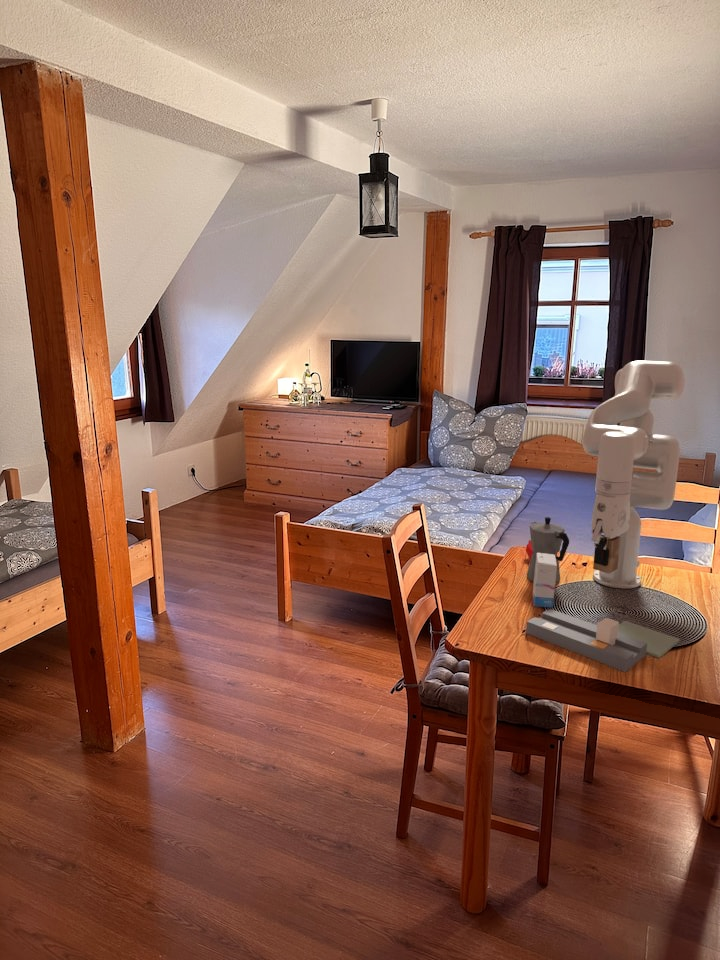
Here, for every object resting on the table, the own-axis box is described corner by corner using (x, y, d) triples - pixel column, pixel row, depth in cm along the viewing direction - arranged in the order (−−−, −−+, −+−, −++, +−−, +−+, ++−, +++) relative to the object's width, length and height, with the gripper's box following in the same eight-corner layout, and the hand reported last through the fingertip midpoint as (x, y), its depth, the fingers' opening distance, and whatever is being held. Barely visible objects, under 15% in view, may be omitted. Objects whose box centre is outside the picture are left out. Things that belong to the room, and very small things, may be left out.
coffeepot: (515, 572, 194) (519, 512, 189) (541, 567, 198) (546, 509, 193) (550, 592, 180) (555, 528, 176) (577, 587, 184) (583, 524, 179)
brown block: (601, 564, 161) (605, 516, 158) (617, 569, 158) (622, 520, 155) (593, 568, 158) (597, 520, 155) (609, 573, 155) (614, 524, 152)
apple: (558, 545, 200) (538, 530, 205) (543, 554, 197) (523, 538, 202) (553, 562, 205) (533, 546, 210) (537, 570, 201) (518, 554, 206)
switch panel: (548, 619, 164) (549, 608, 164) (645, 655, 148) (647, 642, 147) (525, 633, 158) (526, 621, 157) (625, 672, 141) (626, 658, 140)
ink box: (554, 608, 171) (557, 564, 168) (533, 606, 172) (537, 563, 169) (551, 595, 179) (555, 553, 176) (532, 593, 180) (535, 551, 177)
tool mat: (624, 622, 163) (624, 620, 163) (679, 641, 154) (679, 639, 154) (602, 637, 156) (603, 635, 155) (659, 658, 146) (659, 655, 146)
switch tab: (603, 638, 151) (606, 617, 150) (616, 642, 149) (618, 622, 148) (595, 644, 148) (597, 623, 147) (608, 648, 146) (610, 627, 145)
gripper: (611, 496, 145) (603, 576, 149) (645, 482, 156) (637, 556, 161) (579, 490, 150) (572, 566, 155) (614, 476, 161) (607, 548, 166)
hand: (605, 560), depth 158 cm, fingers closed on brown block, 4 cm apart
